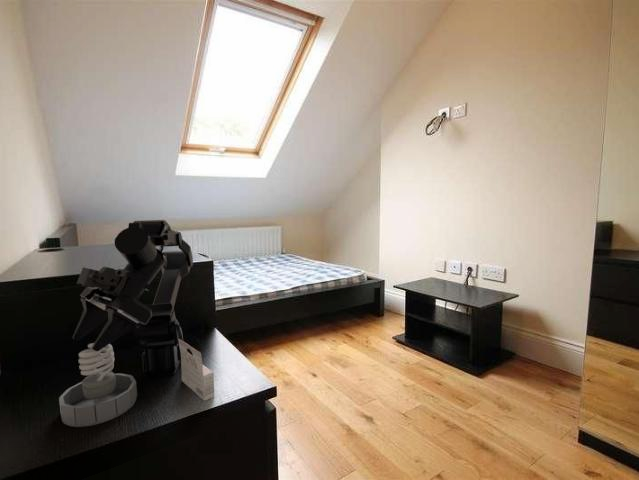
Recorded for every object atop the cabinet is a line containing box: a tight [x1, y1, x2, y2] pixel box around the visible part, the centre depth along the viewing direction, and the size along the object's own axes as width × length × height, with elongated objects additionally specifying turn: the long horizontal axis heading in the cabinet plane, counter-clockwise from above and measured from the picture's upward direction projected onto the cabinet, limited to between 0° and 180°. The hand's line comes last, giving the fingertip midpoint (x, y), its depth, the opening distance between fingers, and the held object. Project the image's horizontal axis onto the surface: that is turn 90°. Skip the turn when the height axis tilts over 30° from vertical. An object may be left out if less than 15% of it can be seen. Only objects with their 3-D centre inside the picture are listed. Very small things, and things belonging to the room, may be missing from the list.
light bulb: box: [78, 342, 116, 404], centre depth 66 cm, size 6×6×12 cm
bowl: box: [58, 372, 138, 428], centre depth 67 cm, size 12×12×4 cm
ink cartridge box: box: [178, 338, 215, 402], centre depth 72 cm, size 2×11×10 cm, turn 43°
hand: (84, 344), depth 65 cm, fingers open, 9 cm apart
